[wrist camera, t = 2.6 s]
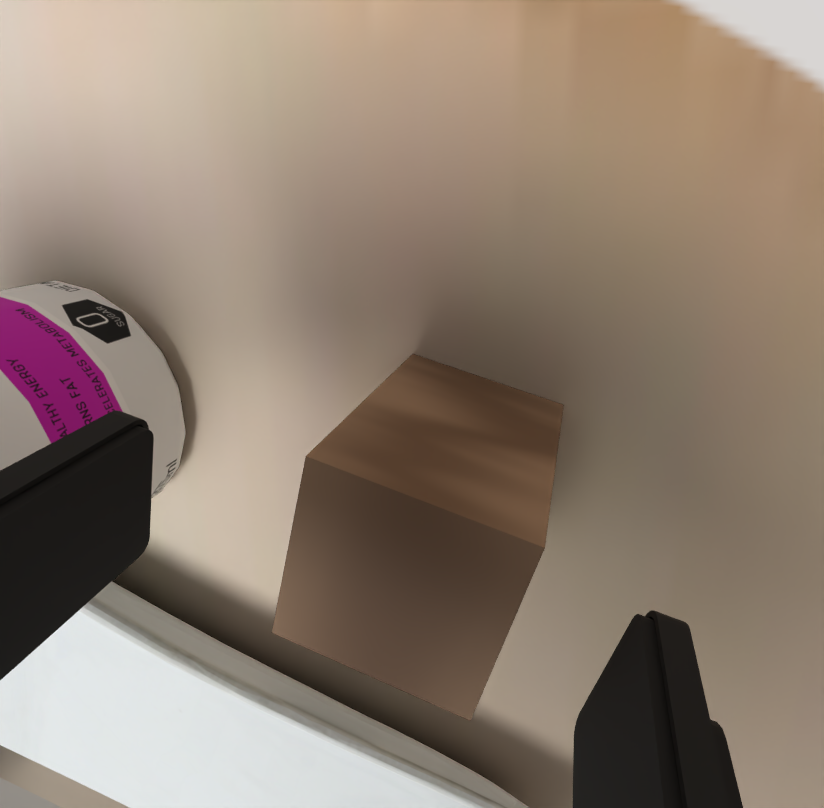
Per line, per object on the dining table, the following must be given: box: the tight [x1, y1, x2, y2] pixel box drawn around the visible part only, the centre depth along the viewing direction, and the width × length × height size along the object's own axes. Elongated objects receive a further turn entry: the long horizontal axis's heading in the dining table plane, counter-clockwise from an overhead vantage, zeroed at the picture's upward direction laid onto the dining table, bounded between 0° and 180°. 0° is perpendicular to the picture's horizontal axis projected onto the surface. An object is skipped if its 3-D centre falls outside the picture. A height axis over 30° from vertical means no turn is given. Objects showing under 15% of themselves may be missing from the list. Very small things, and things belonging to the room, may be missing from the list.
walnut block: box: [272, 354, 563, 721], centre depth 14 cm, size 4×4×7 cm
